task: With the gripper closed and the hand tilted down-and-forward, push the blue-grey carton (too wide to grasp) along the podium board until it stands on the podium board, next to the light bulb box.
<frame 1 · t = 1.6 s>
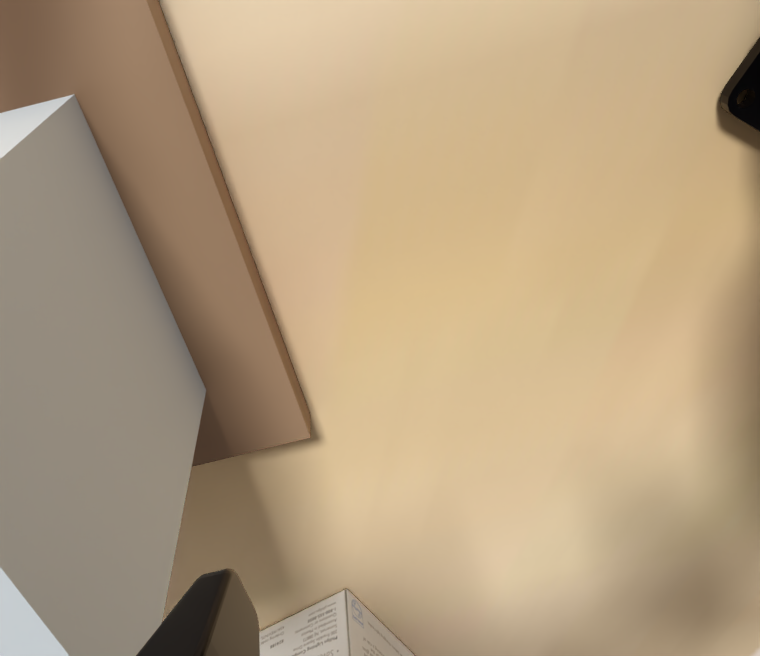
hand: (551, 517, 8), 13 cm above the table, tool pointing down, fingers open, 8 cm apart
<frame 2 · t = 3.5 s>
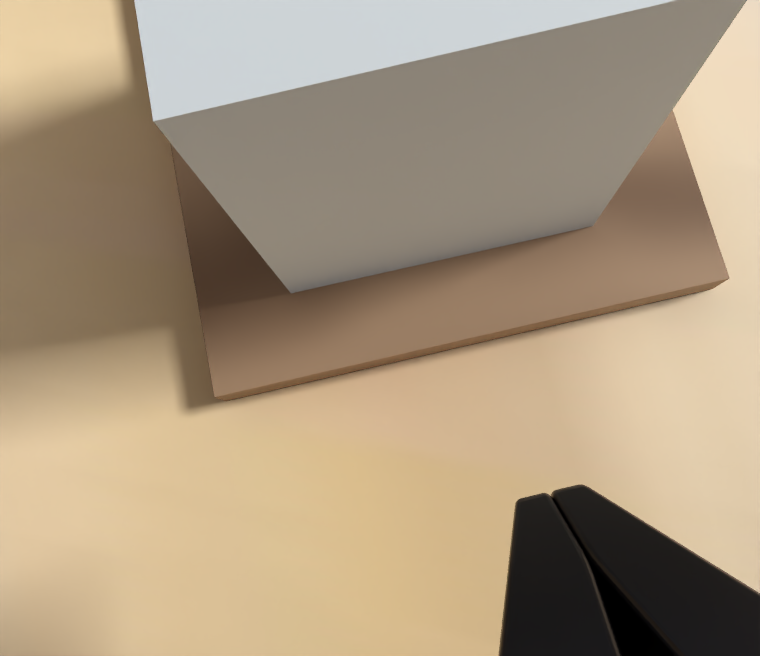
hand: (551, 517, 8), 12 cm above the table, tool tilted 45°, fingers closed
carton: (408, 121, 21), point 1 cm above the table, touching podium board
podium board: (394, 54, 23), on the table
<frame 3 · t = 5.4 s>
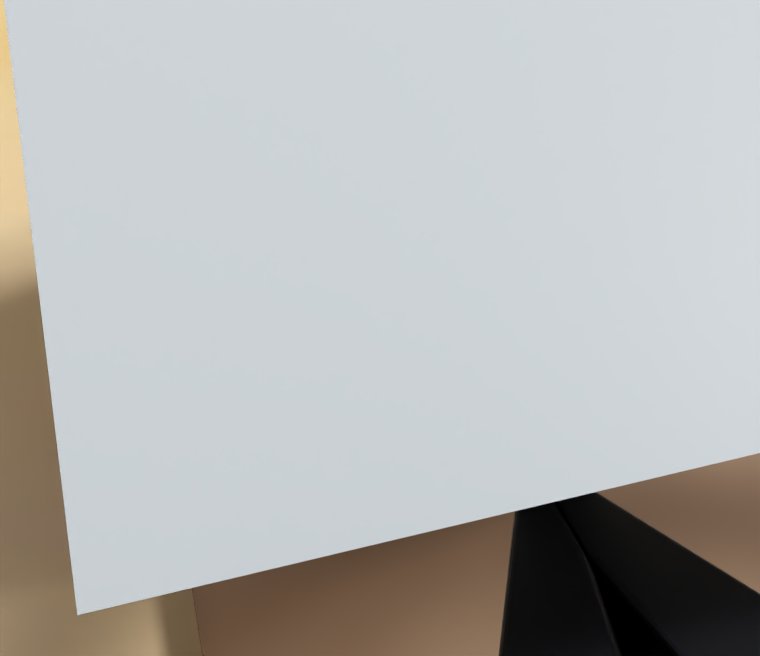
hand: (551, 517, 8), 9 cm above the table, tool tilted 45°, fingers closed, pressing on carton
carton: (441, 310, 17), point 1 cm above the table, touching gripper, podium board
podium board: (445, 304, 19), on the table
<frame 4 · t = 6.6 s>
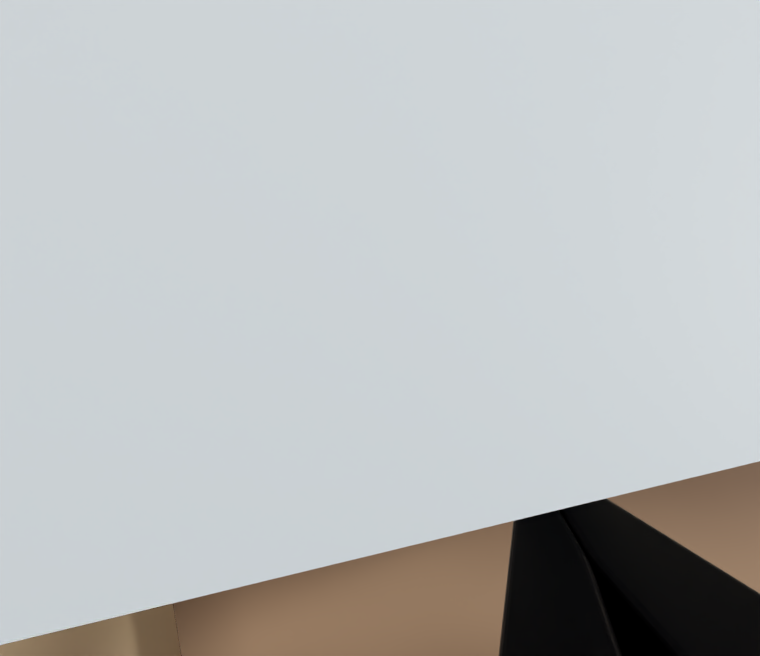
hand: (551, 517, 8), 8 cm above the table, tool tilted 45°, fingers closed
carton: (436, 296, 16), point 1 cm above the table, touching podium board
podium board: (491, 477, 17), on the table
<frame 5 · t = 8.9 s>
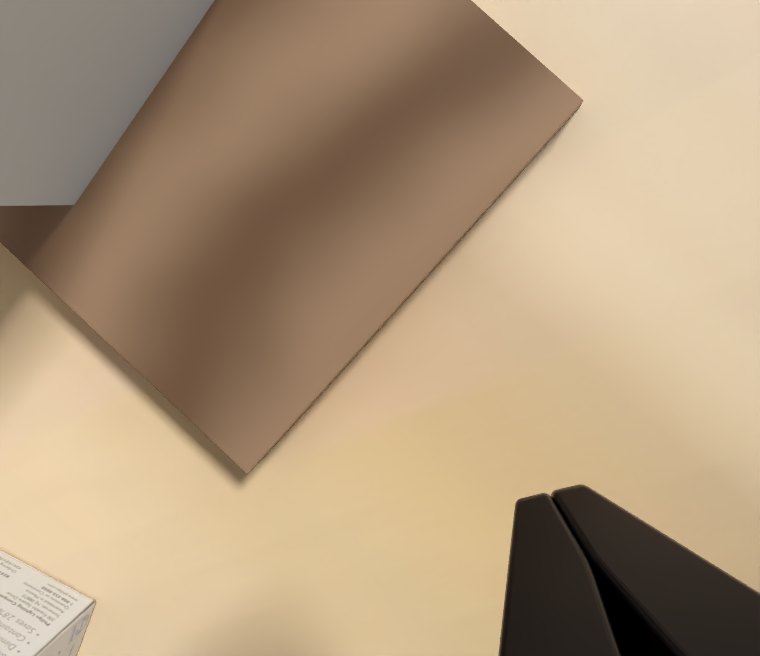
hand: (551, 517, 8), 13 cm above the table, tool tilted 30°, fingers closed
podium board: (172, 85, 22), on the table
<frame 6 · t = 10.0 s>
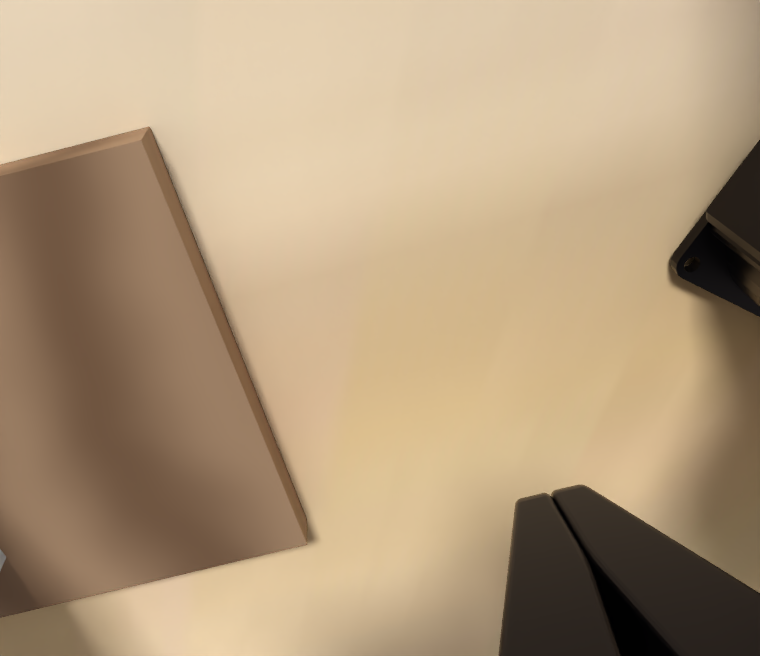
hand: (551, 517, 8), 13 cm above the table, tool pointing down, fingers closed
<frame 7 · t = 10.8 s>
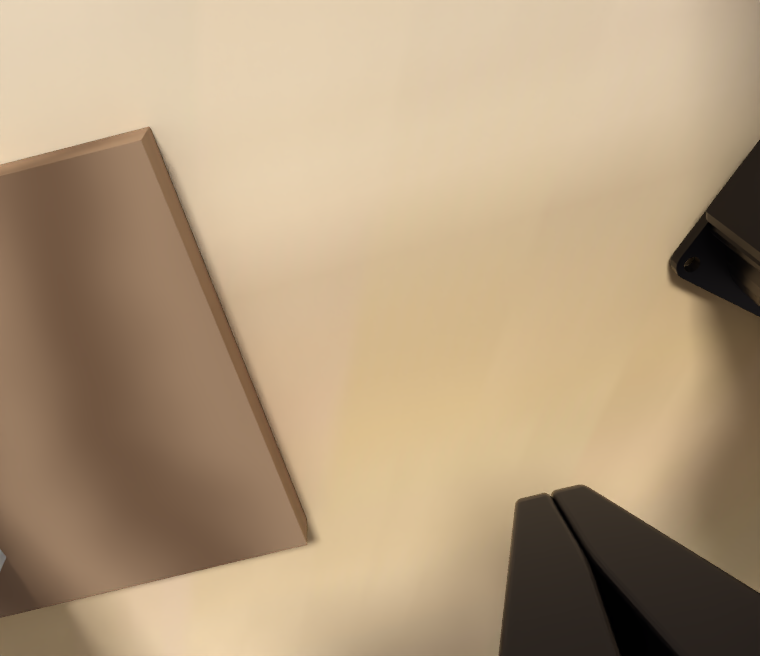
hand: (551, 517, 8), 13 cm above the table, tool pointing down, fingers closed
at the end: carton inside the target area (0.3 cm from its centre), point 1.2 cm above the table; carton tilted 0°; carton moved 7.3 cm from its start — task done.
